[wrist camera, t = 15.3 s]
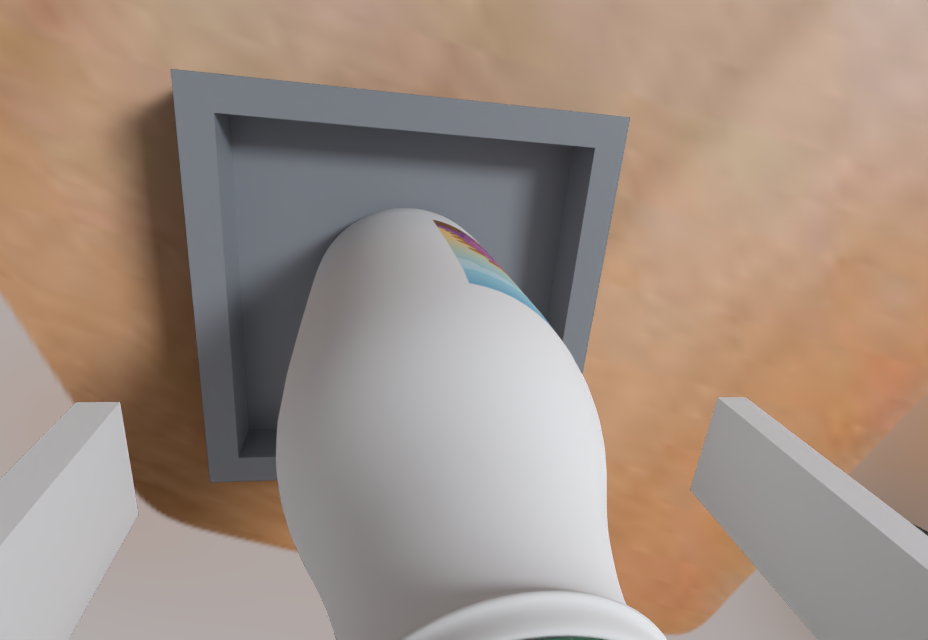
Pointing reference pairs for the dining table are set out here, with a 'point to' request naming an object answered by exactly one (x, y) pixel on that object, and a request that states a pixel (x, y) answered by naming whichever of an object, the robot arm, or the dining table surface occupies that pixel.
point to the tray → (356, 196)
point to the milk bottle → (443, 449)
